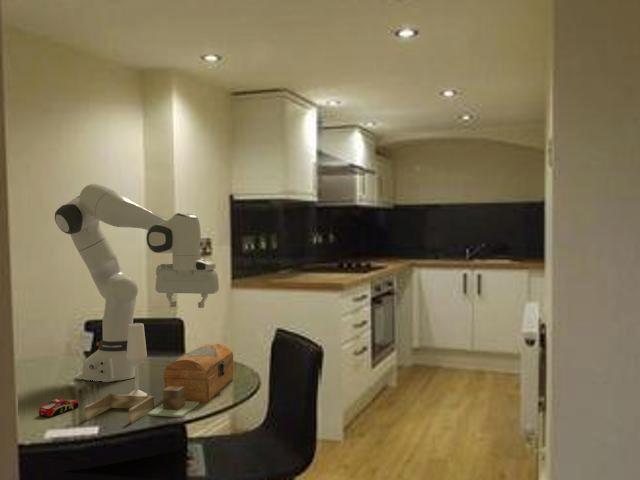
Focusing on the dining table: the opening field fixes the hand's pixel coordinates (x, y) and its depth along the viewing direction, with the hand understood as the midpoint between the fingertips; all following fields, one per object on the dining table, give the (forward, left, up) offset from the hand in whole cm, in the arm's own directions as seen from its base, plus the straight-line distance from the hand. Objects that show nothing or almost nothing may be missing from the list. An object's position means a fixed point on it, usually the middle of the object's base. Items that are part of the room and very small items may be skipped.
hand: (187, 307), depth 199 cm
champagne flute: (-21, +7, -31) cm, 38 cm away
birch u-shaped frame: (-16, -14, -31) cm, 38 cm away
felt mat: (-2, -6, -31) cm, 32 cm away
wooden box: (-2, +18, -32) cm, 36 cm away
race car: (-36, -14, -32) cm, 50 cm away
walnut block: (-2, -6, -30) cm, 31 cm away
